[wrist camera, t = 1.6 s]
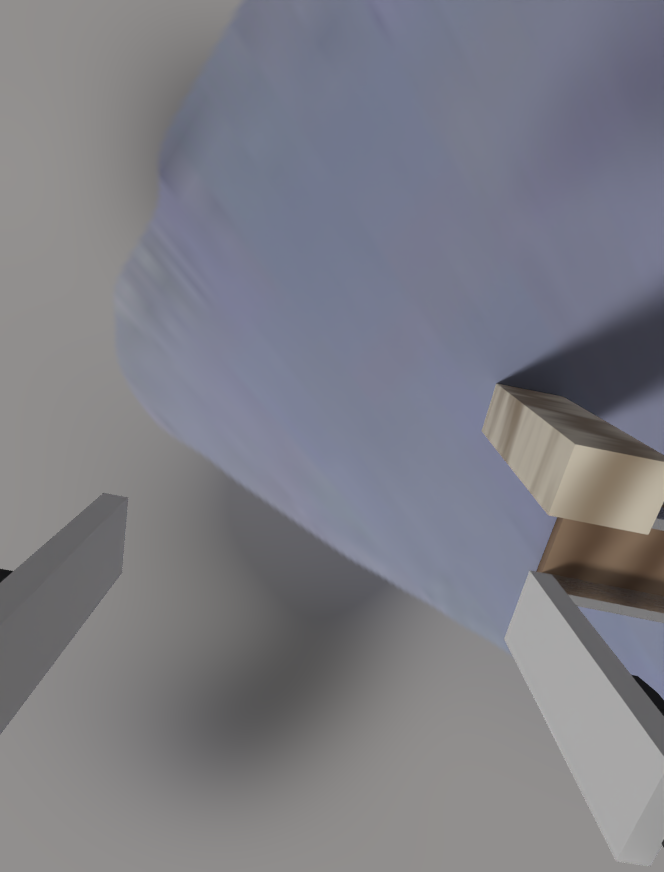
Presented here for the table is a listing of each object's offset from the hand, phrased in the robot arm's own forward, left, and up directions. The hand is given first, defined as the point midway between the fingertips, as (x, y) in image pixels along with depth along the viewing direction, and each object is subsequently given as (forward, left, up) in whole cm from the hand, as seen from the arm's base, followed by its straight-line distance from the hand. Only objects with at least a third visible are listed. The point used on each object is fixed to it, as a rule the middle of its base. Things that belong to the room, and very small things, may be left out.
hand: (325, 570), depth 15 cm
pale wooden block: (-14, +8, -28) cm, 32 cm away
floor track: (-22, +25, -28) cm, 43 cm away
